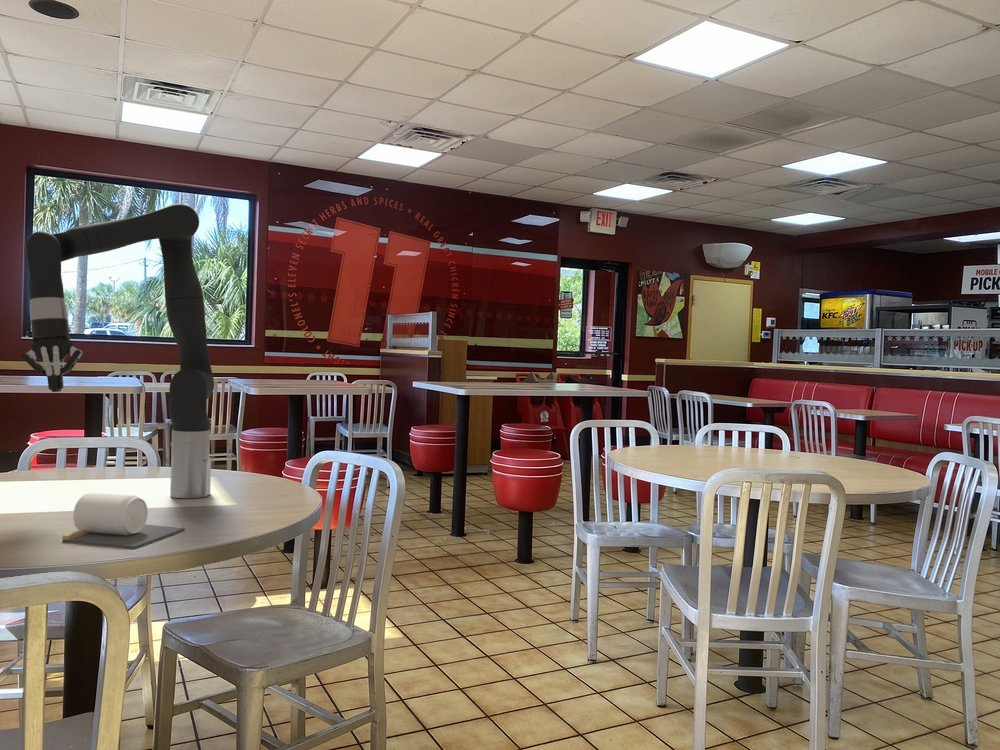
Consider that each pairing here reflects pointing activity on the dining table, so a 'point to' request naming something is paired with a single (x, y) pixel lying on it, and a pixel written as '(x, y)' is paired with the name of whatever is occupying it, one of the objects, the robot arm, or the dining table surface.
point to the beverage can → (110, 513)
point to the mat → (123, 537)
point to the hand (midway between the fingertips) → (56, 391)
